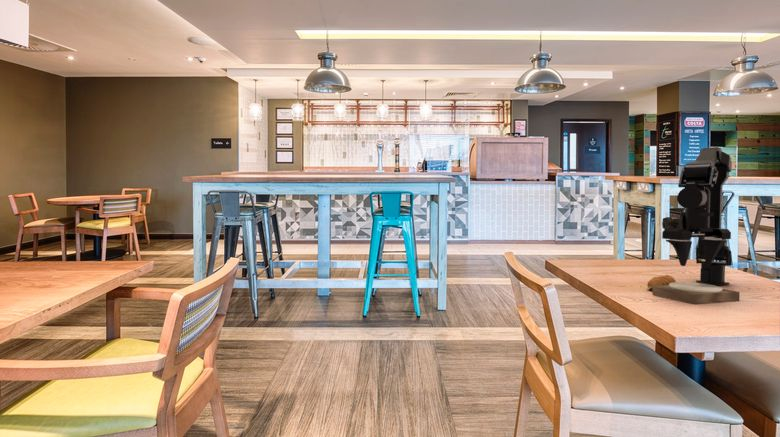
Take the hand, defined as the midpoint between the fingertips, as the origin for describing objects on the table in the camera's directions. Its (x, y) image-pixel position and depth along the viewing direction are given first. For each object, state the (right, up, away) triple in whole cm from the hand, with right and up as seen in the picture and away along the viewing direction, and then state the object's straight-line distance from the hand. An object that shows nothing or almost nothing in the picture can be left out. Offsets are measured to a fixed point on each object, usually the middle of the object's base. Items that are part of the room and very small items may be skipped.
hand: (695, 265), depth 131 cm
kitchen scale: (0, -9, 0) cm, 9 cm away
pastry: (-6, -10, +13) cm, 17 cm away
